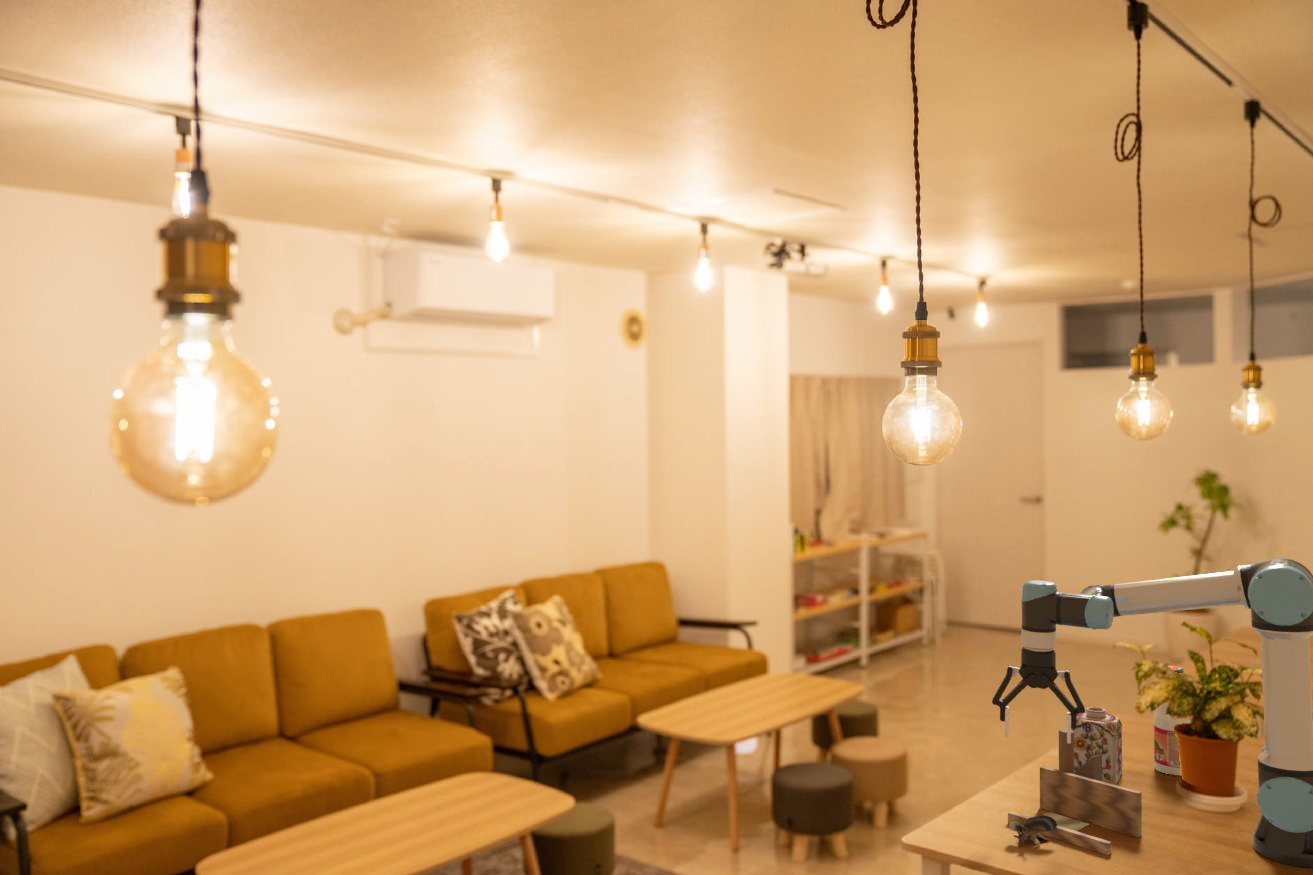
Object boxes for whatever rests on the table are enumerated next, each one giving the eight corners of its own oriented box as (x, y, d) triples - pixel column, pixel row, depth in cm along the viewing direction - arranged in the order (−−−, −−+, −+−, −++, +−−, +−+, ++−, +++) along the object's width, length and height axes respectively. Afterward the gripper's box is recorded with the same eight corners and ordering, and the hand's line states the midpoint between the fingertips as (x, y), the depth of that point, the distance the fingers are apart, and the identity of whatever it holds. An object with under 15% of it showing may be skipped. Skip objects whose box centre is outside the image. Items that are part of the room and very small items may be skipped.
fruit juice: (1186, 779, 270) (1186, 673, 269) (1148, 771, 276) (1148, 667, 276) (1198, 770, 276) (1198, 667, 276) (1161, 762, 283) (1161, 661, 283)
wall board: (1141, 835, 233) (1141, 791, 233) (1108, 855, 223) (1108, 809, 223) (1043, 806, 251) (1042, 765, 251) (1007, 823, 241) (1007, 780, 241)
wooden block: (1093, 815, 245) (1093, 740, 245) (1054, 802, 254) (1054, 729, 254) (1103, 812, 247) (1102, 738, 247) (1064, 799, 256) (1064, 727, 256)
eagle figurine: (1040, 850, 223) (1065, 833, 228) (1021, 819, 226) (1047, 803, 230) (1017, 858, 229) (1043, 841, 234) (1000, 827, 231) (1025, 811, 236)
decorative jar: (1116, 786, 265) (1116, 717, 265) (1068, 778, 271) (1068, 710, 271) (1123, 773, 275) (1122, 706, 275) (1076, 765, 281) (1076, 700, 281)
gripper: (1095, 648, 238) (1094, 739, 238) (983, 640, 247) (982, 727, 247) (1097, 655, 231) (1096, 749, 231) (981, 646, 240) (980, 736, 240)
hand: (1037, 738), depth 239 cm, fingers open, 13 cm apart
